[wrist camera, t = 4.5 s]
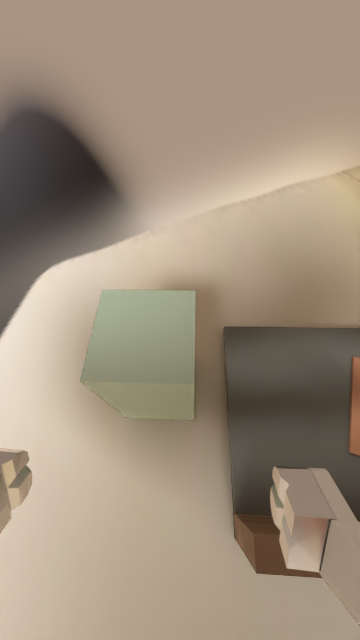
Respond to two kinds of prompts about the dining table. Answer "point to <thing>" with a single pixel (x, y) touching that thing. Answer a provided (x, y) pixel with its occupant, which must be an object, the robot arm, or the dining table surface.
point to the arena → (289, 423)
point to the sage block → (144, 353)
